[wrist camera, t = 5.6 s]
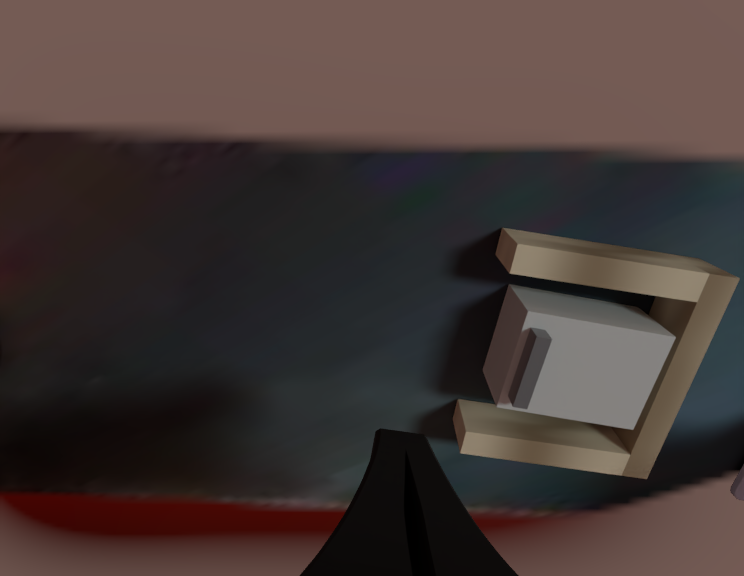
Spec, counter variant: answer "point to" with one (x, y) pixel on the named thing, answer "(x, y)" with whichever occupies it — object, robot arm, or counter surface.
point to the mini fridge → (574, 357)
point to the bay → (693, 335)
